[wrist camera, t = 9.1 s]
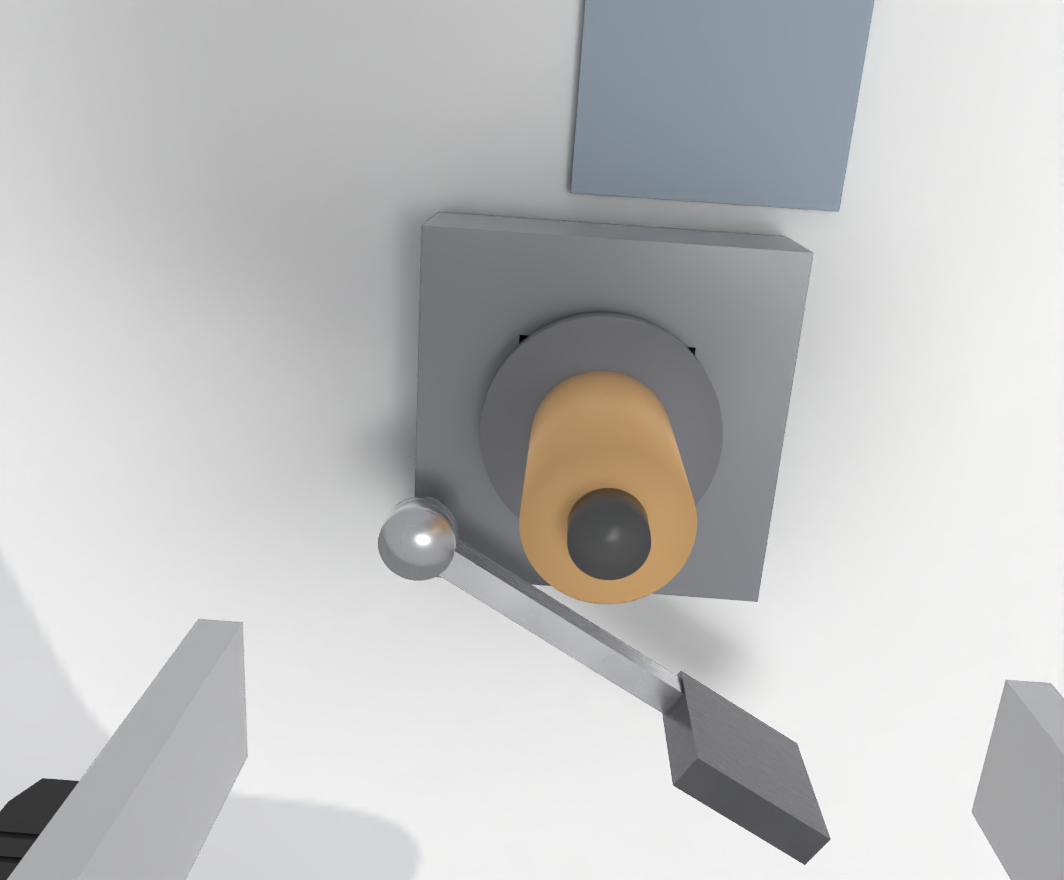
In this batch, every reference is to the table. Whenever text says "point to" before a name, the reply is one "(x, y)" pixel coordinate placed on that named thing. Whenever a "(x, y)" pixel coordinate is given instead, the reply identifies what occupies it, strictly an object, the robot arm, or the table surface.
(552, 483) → the plug
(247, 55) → the table surface
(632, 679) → the grey lever
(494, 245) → the socket block
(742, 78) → the mat
